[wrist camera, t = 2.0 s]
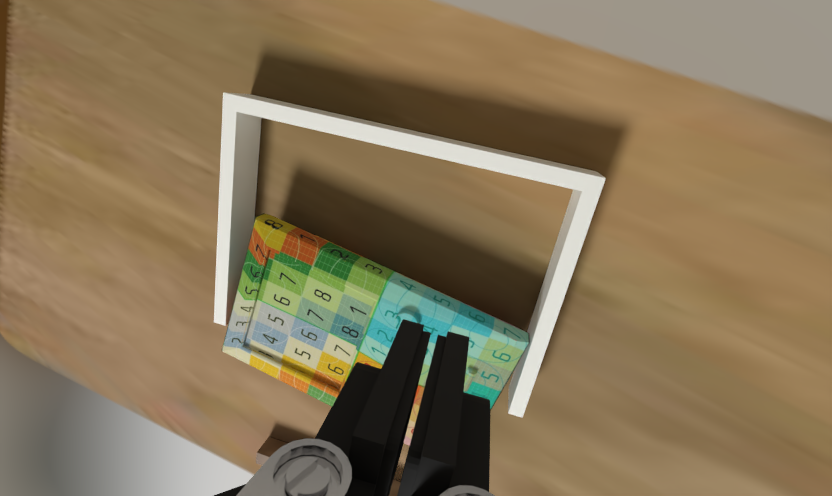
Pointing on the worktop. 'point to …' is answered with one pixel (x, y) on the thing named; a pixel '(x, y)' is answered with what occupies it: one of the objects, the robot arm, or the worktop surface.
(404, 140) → the frame
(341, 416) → the robot arm
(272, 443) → the rail
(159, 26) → the worktop surface
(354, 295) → the puzzle game
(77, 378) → the worktop surface
